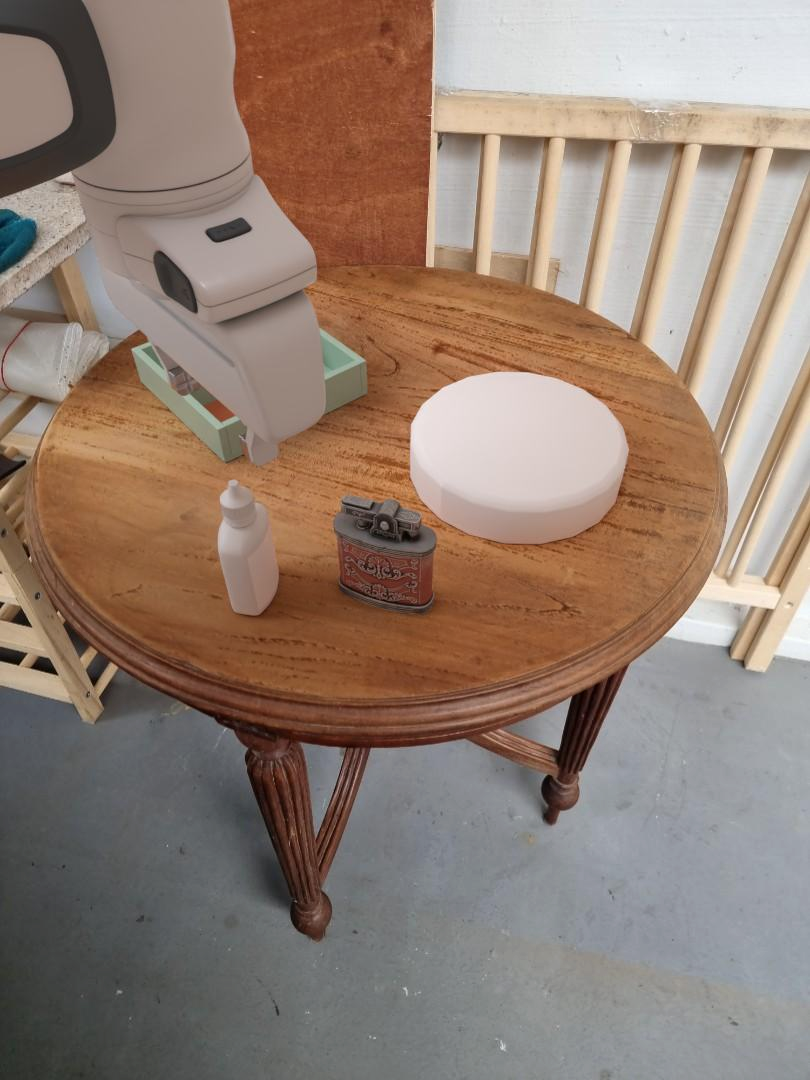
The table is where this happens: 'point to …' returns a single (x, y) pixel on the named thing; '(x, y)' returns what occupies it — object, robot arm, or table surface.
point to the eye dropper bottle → (247, 551)
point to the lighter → (385, 555)
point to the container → (517, 457)
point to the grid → (219, 422)
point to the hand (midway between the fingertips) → (221, 421)
